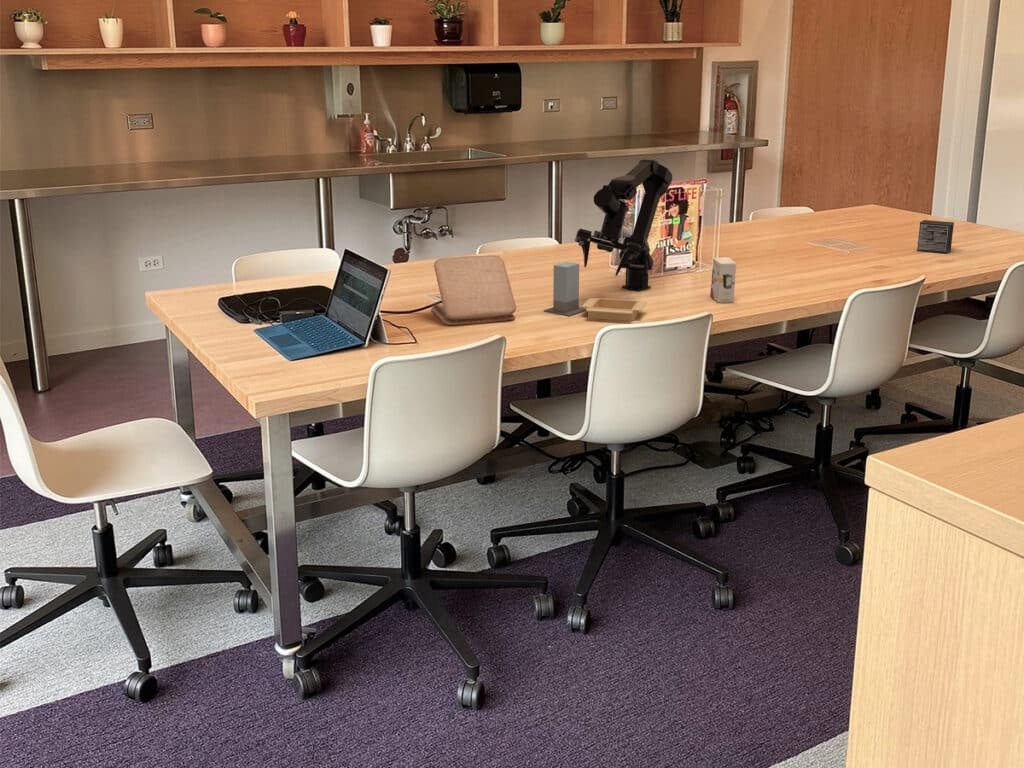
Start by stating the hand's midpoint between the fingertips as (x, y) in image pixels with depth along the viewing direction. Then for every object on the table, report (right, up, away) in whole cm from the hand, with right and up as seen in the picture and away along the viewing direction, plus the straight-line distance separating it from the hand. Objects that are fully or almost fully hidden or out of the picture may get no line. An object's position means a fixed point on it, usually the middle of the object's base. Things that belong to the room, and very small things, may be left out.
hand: (600, 271), depth 320 cm
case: (-36, -13, -7) cm, 39 cm away
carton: (+3, -13, -7) cm, 15 cm away
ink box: (+37, -8, +9) cm, 38 cm away
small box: (+124, +15, +75) cm, 146 cm away
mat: (-10, -11, -3) cm, 16 cm away
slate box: (-10, -11, -4) cm, 15 cm away
